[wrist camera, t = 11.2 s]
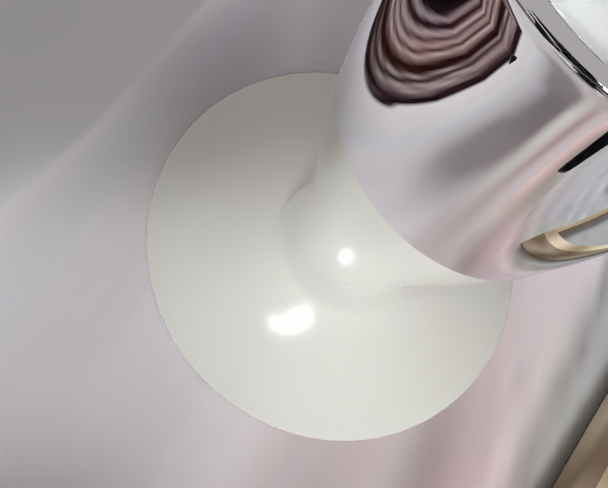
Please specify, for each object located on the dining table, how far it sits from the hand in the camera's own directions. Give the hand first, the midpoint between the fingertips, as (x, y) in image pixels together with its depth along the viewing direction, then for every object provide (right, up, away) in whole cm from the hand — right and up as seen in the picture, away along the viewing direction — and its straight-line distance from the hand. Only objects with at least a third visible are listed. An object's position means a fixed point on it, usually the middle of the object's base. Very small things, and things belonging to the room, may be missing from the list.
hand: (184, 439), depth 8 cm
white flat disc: (+4, +3, +13) cm, 14 cm away
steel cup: (+4, +3, +12) cm, 13 cm away
